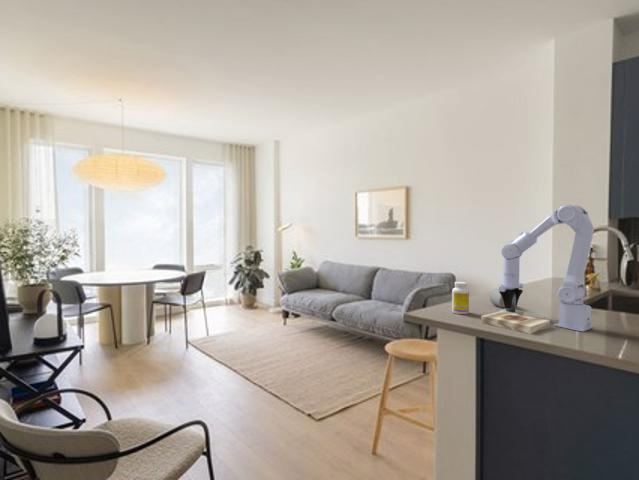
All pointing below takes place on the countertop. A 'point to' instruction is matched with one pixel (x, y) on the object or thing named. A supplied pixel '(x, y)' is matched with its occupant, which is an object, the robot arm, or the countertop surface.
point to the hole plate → (515, 322)
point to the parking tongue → (513, 312)
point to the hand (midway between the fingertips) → (510, 307)
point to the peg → (513, 307)
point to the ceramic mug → (497, 298)
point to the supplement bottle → (460, 298)
